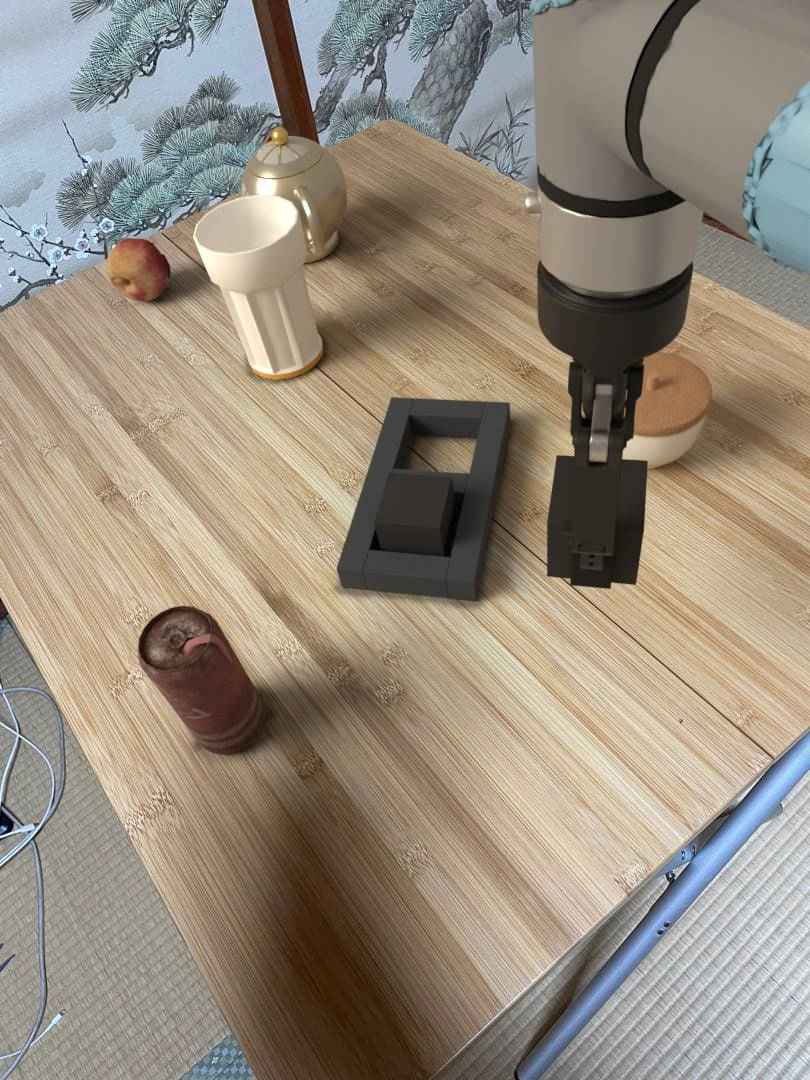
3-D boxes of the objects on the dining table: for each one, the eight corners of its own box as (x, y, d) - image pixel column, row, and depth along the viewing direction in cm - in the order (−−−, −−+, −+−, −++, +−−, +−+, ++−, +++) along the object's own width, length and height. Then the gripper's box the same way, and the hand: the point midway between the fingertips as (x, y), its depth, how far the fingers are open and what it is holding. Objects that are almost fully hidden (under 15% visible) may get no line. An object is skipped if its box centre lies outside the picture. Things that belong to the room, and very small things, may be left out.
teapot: (248, 236, 118) (211, 120, 105) (338, 207, 119) (313, 88, 107) (280, 304, 107) (244, 183, 94) (379, 270, 108) (357, 147, 96)
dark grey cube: (446, 568, 77) (439, 527, 73) (384, 562, 79) (373, 522, 74) (457, 518, 81) (452, 476, 76) (397, 513, 82) (388, 472, 78)
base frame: (510, 423, 88) (509, 402, 86) (476, 601, 75) (473, 582, 72) (395, 417, 91) (391, 396, 88) (342, 587, 78) (336, 568, 75)
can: (270, 751, 68) (216, 667, 57) (194, 761, 69) (127, 679, 58) (271, 686, 72) (222, 595, 61) (200, 696, 72) (138, 607, 62)
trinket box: (628, 502, 79) (636, 432, 72) (569, 434, 86) (571, 363, 78) (723, 459, 81) (741, 386, 74) (658, 396, 87) (668, 323, 80)
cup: (237, 337, 104) (190, 208, 90) (325, 316, 104) (292, 184, 90) (244, 396, 96) (195, 265, 83) (339, 373, 97) (305, 238, 83)
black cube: (636, 585, 57) (643, 530, 52) (546, 576, 58) (546, 522, 53) (639, 517, 60) (647, 460, 55) (555, 510, 61) (556, 454, 57)
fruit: (112, 298, 113) (87, 245, 107) (160, 271, 115) (138, 218, 109) (139, 321, 109) (114, 268, 102) (189, 293, 111) (167, 239, 105)
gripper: (556, 157, 47) (554, 444, 65) (511, 383, 36) (524, 654, 54) (696, 154, 45) (654, 450, 63) (693, 391, 34) (643, 667, 52)
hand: (594, 543), depth 59 cm, fingers closed on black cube, 6 cm apart
